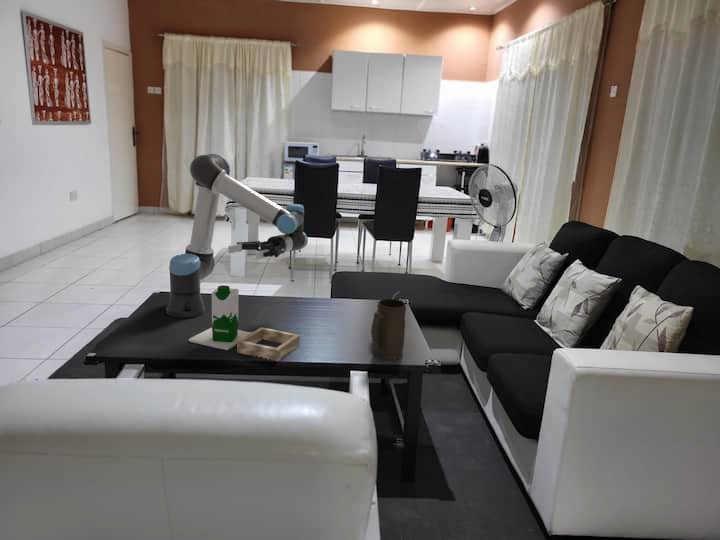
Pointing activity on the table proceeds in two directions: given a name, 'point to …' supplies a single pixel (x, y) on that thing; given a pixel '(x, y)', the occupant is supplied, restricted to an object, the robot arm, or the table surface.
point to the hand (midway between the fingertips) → (242, 252)
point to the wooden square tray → (276, 354)
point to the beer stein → (389, 329)
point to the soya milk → (224, 314)
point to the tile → (207, 340)
